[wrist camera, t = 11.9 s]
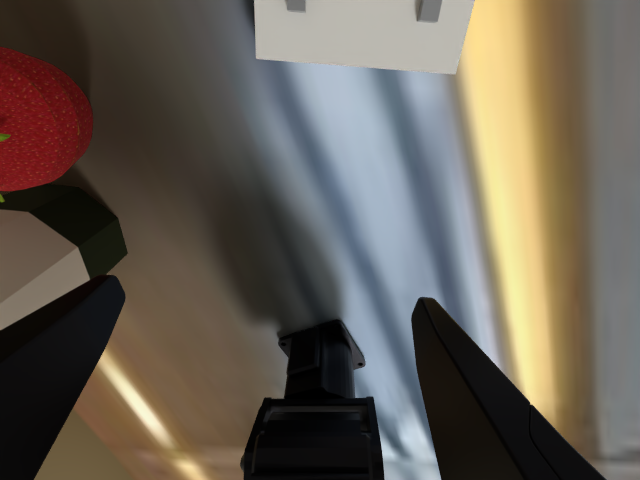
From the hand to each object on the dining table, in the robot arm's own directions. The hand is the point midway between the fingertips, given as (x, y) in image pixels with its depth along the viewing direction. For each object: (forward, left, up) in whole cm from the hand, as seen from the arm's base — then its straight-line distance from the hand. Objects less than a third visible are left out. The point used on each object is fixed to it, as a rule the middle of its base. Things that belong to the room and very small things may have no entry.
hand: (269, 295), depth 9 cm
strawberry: (+9, +11, -13) cm, 19 cm away
